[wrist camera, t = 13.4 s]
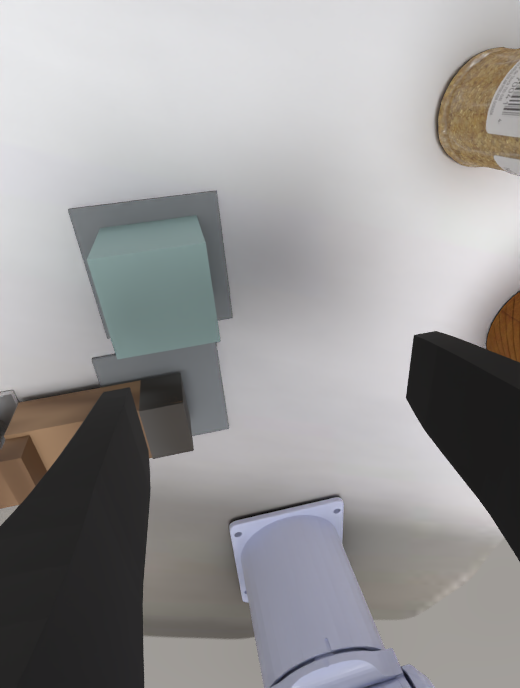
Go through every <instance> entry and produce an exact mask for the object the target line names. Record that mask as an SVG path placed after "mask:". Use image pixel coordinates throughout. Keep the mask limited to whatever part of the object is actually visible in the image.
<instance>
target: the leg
mask: <svg viewBox="0 0 520 688" xmlns="http://www.w3.org/2000/svg"><path fill="white" fill-rule="evenodd" d="M128 387H130V389H131V393H132V396H133V399H134V403H135V406H136V410H137V413H138V416H139V420H140V423H141V426H142V430H143V433H144V437H145V440H146V443H147V447H148V450H149V458H153V459H155V458H160V457H164V456H169V455H174V454H179V453H184V452H188V451H193V450H194V449H193V440H192V430H191V420H190V415H189V410H188V405H187V401H186V396H185V391H184V387H183V382H182V377H181V373H178V374H172V375H167V376H161V377H156V378H150V379H145V380H139V381H134V382H128V383H123V384H118V385H112V386H107V387H101V388H96V389H90V390H85V391H79V392H74V393H68V394H63V395H57V396H52V397H46V398H41V399H35V400H30V401H25V402H19V403H18V405H17V408H16V410H15V412H14V414H13V417H12V419H11V421H10V423H9V426H8V428H7V430H6V432H5V434H4V438H5V442H4V444H3V446H2V449H0V509H1V508H6V507H10V506H15V505H20V504H21V503H22V502H23V501H24V500H25V498H26V497H27V496H28V495H29V494H30V492H31V491H32V490H33V489H34V487H35V486H36V485H37V484H38V482H39V481H40V480H41V479H42V477H43V476H44V475H45V474H46V472H47V471H48V470H49V469H50V467H51V466H52V465H53V463H54V462H55V461H56V459H57V458H58V457H59V455H60V454H61V453H62V451H63V450H64V448H65V447H66V446H67V444H68V443H69V441H70V440H71V439H72V437H73V436H74V434H75V433H76V431H77V430H78V428H79V427H80V425H81V424H82V423H83V421H84V420H85V418H86V417H87V415H88V414H89V412H90V411H91V409H92V408H93V406H94V405H95V403H96V402H97V400H98V399H99V397H100V396H101V395H102V393H103V392H106V391H112V390H117V389H123V388H128Z"/></svg>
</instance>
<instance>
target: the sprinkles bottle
mask: <svg viewBox="0 0 520 688" xmlns="http://www.w3.org/2000/svg"><path fill="white" fill-rule="evenodd" d="M438 124H439V126H438V131H439V140H440V142H441V144H442V146H443V148H444V150H445V152H446V153H447V154H448V155H449V156H450V157H451V158H453V160H455V161H456V162H458V163H459V164H461V165H464V166H468V167H489V168H494V169H498V170H503V171H506V172H508V173H511V174H514V175H518V176H520V48H519V49H509V48H504V47H499V48H493V49H490V50H487V51H484V52H482V53H480V54H478V55H476V56H475V57H473V58H472V59H471V60H469V61H468V62H467V63H466V64H465V65H464V66H463V67H462V68H461V69H460V70H459V71H458V73H457V75H456V76H455V77H454V78H453V79H452V81H451V82H450V84H449V86H448V88H447V90H446V92H445V94H444V96H443V99H442V102H441V106H440V110H439V117H438Z"/></svg>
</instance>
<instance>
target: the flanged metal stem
mask: <svg viewBox="0 0 520 688" xmlns="http://www.w3.org/2000/svg"><path fill="white" fill-rule="evenodd" d="M18 403H19V402H18V400H17V398H16V396H15V394H14V391H13V390H12V391H6V392H0V449H2V446H3V444H4V442H5V438H4V434H5V432H6V430H7V428H8V426H9V423H10V421H11V419H12V417H13V414H14V412H15V410H16V408H17V405H18Z"/></svg>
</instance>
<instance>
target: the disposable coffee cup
mask: <svg viewBox="0 0 520 688" xmlns="http://www.w3.org/2000/svg"><path fill="white" fill-rule="evenodd" d="M487 350H489V351H492V352H494V353H497V354H499V355H502V356H505V357H507V358H510V359H512V360H515V361H518V362H520V292H519V293H517V294H516V295H515V296H514V297H512V298H511V299H510V300H509V301H508V302H507V303H506V304H505V305H504V306H503V308H502V309H501V311H500V312H499V313H498V315H497V316H496V318H495V319H494V321H493V323H492V325H491V328H490V331H489V333H488V338H487Z"/></svg>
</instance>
